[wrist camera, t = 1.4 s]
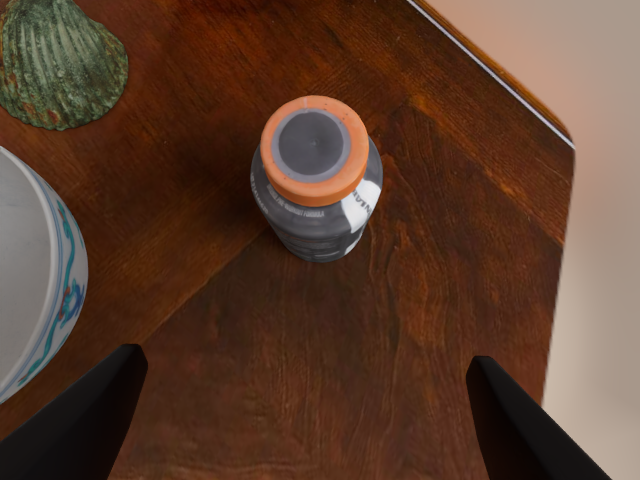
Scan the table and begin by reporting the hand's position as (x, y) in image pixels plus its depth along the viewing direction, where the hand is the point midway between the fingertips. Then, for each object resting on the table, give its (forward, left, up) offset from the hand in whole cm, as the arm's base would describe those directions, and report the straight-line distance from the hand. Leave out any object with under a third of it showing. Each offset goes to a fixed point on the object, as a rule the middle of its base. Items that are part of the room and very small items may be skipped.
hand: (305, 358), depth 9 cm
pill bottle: (+7, +1, -13) cm, 15 cm away
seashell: (+15, +22, -13) cm, 30 cm away
